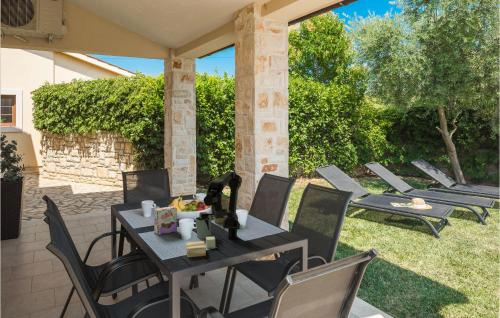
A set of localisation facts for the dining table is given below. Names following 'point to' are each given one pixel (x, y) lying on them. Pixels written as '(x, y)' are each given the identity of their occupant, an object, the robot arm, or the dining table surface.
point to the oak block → (195, 249)
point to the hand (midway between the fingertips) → (216, 229)
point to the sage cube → (210, 242)
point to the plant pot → (224, 206)
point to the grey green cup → (203, 228)
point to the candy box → (165, 220)
